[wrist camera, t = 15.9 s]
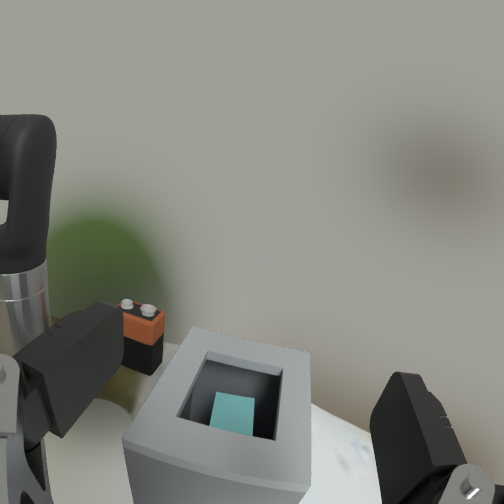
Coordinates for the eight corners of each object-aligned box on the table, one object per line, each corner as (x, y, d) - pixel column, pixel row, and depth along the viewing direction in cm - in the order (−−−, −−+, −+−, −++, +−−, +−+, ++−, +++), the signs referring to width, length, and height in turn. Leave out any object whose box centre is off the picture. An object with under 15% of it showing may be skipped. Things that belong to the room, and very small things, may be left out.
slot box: (137, 518, 20) (121, 438, 16) (183, 417, 35) (192, 325, 32) (263, 550, 19) (310, 485, 15) (277, 440, 35) (309, 352, 31)
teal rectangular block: (199, 488, 25) (208, 430, 22) (205, 453, 30) (216, 391, 27) (234, 493, 25) (252, 438, 22) (237, 458, 30) (254, 398, 27)
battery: (151, 377, 41) (153, 318, 39) (111, 361, 42) (109, 303, 39) (163, 361, 46) (166, 305, 43) (125, 348, 46) (125, 292, 44)
